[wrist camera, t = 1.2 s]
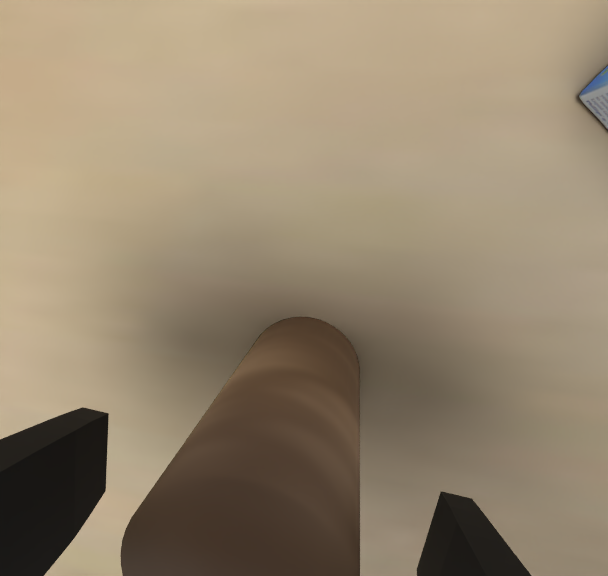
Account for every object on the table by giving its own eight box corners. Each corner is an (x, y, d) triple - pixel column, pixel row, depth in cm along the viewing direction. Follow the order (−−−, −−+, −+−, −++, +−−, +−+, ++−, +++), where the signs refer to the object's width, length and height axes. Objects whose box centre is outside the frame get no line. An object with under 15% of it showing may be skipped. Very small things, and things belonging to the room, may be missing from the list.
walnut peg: (369, 329, 13) (384, 513, 6) (347, 430, 14) (334, 703, 7) (257, 306, 14) (126, 450, 6) (243, 406, 15) (115, 639, 7)
